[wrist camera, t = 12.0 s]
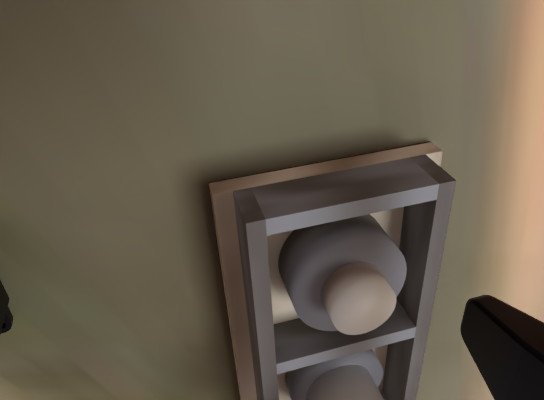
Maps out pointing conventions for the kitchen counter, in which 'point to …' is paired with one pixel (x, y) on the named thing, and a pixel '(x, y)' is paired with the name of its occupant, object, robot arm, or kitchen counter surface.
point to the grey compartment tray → (333, 265)
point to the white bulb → (338, 379)
